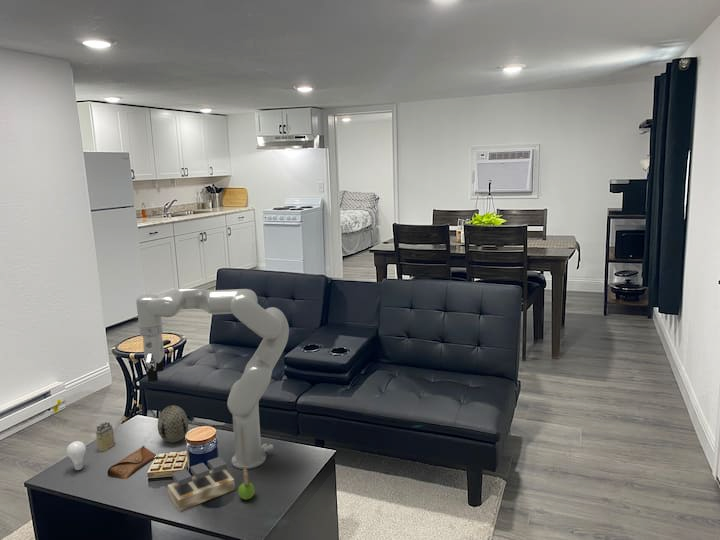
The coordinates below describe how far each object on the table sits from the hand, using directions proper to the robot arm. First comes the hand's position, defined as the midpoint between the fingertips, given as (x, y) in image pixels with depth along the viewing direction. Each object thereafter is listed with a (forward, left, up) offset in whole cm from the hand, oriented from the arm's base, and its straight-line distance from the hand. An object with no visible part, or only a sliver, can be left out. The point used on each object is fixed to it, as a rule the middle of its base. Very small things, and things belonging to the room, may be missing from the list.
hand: (156, 375), depth 199 cm
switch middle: (-4, +25, -30) cm, 39 cm away
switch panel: (-4, +25, -35) cm, 44 cm away
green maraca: (-15, +38, -36) cm, 54 cm away
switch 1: (+2, +25, -30) cm, 39 cm away
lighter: (+14, -29, -36) cm, 48 cm away
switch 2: (-10, +25, -30) cm, 40 cm away
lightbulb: (+26, -18, -36) cm, 48 cm away
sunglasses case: (+9, -8, -36) cm, 38 cm away
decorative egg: (-9, -17, -36) cm, 40 cm away
